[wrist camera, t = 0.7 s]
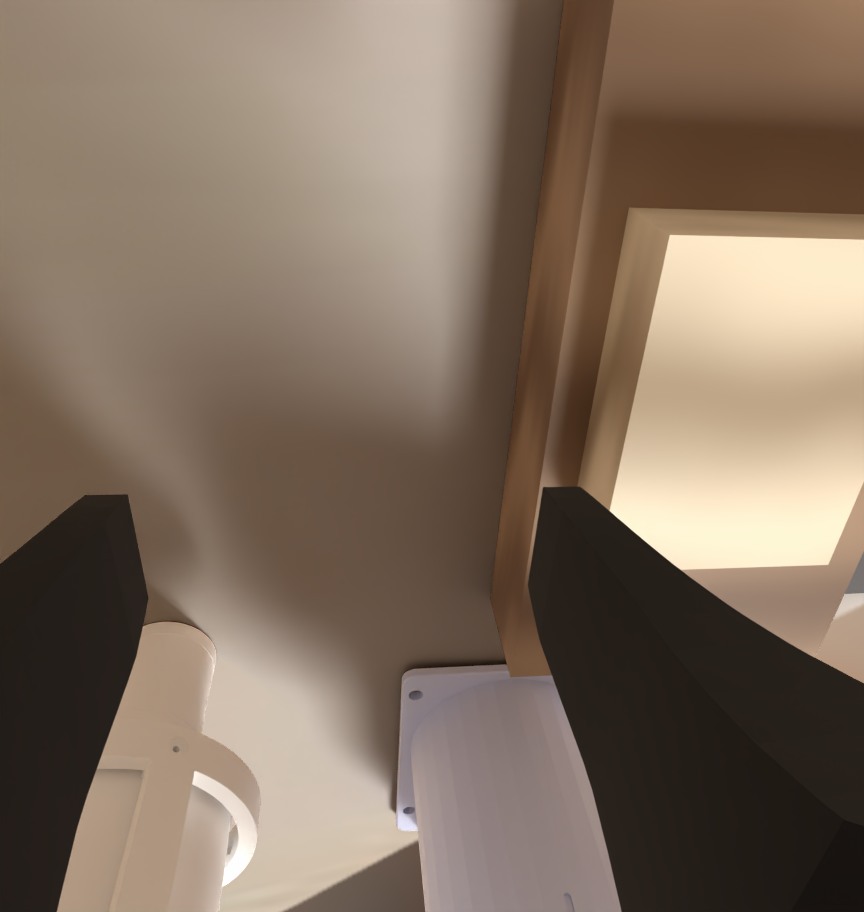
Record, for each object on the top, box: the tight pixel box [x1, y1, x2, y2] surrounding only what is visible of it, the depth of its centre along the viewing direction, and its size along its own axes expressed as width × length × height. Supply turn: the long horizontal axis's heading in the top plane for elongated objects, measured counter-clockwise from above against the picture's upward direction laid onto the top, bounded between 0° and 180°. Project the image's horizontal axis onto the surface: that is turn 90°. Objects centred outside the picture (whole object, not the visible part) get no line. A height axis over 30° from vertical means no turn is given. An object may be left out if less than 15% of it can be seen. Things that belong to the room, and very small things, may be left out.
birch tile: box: [577, 208, 864, 570], centre depth 17 cm, size 8×6×2 cm
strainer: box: [57, 622, 261, 912], centre depth 19 cm, size 7×7×15 cm
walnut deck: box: [490, 0, 864, 677], centre depth 20 cm, size 18×10×4 cm, turn 177°
